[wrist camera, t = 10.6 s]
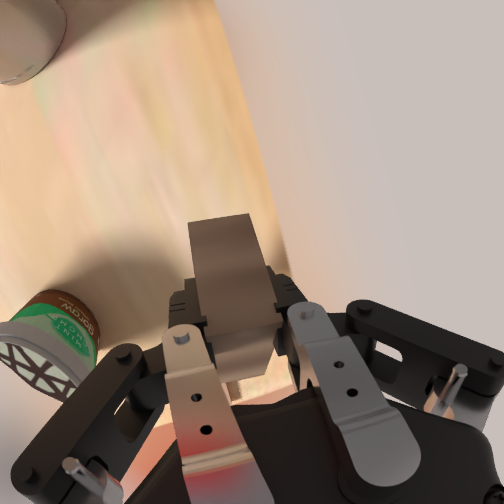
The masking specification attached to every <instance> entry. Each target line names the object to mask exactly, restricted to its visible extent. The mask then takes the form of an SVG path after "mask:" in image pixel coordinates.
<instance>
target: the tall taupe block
mask: <svg viewBox="0 0 504 504" xmlns="http://www.w3.org/2000/svg"><path fill="white" fill-rule="evenodd" d="M188 230H189V238H190V245H191V252H192V259H193V266H194V273H195V279H196V286H197V292H198V298H199V304H200V310H201V316H205V315H206V318H207V324H208V326H206V327H204V333H205V338H206V341H207V343H209V342H211V343H212V347H213V351H214V355H215V360H216V365H217V369H216V372H217V374H218V377H219V380H220V382H221V384H222V383H227V382H232V381H238V380H242V379H247V378H252V377H257V376H261V375H264V374H265V371H266V369H267V366H268V363H269V361H270V358H271V355H272V352H273V350H274V346H273V344H272V343H273V340H274V337H275V334H276V331H277V328H281V327H282V324H283V322H284V321H283V318H282V315H281V313H276V310H275V307H274V304H273V303H276V302H277V299H276V296H275V293H274V290H273V287H272V283H271V280H270V277H269V274H268V271H267V268H266V265H265V262H264V258H263V255H262V252H261V249H260V246H259V243H258V240H257V237H256V234H255V231H254V228H253V224H252V221H251V218H250V215H249V213H248V214H241V215H234V216H227V217H221V218H214V219H208V220H201V221H195V222H189V223H188Z"/></svg>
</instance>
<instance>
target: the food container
mask: <svg viewBox="0 0 504 504" xmlns="http://www.w3.org/2000/svg"><path fill="white" fill-rule="evenodd" d="M99 341H100V332H99V327H98V323H97V321H96V319H95V318H94V316H93V314H92V312H91V311H90V310H89V309H88V308H87V307H86V306H85V304H84V303H82V302H81V301H80V300H79V299H77V298H76V297H74V296H73V295H71V294H68V293H66V292H63V291H59V290H46V291H42V292H40V293H38V294H37V295H35V296H34V297H33V298H32V299H31V300H30V301H29V302H28V303H27V304H26V305H25V306H24V307H23V308H22V309H21V310H20V311H19V312H17V313H16V314H15V315H14V316H13V317H12V318H11V319H10V320H9V321H7V322H1V323H0V360H1V361H2V362H3V363H4V364H6V365H7V366H8V367H9V368H11V369H12V370H13V371H14V372H15V373H16V374H17V375H18V376H20V377H21V378H22V379H23V380H24V381H25V382H26V383H28V384H29V385H30V386H31V387H33V388H34V389H36V390H38V391H40V392H42V393H44V394H46V395H48V396H51V397H53V398H55V399H57V400H59V401H61V402H63V403H64V402H65V401H66V400H67V399H68V397H69V396H70V395H71V394H72V393H73V392H74V390H75V389H76V388H77V387H78V386H79V385H80V384H81V382H82V381H83V380H84V379H85V378H86V377H87V376H88V375H89V373H90V372H91V371H92V370H93V369H94V368H95V367H96V362H97V355H98V348H99Z"/></svg>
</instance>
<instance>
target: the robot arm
mask: <svg viewBox="0 0 504 504" xmlns="http://www.w3.org/2000/svg"><path fill="white" fill-rule="evenodd" d="M65 29H66V17H65V13H64V11H63V9H62V8H61V7H60V6H59V5H58V4H57V3H56V0H0V84H6V85H16V84H19V83H22V82H25V81H26V80H28V79H30V78H32V77H33V76H34V75H35V74H37V73H38V72H39V71H40V70H41V69H42V68H43V67H44V66H45V65H46V64H47V63H48V62H49V61H50V59H51V58H52V57H53V55H54V54H55V52H56V51H57V49H58V47H59V45H60V43H61V41H62V39H63V36H64V32H65ZM266 268H267V271H268V274H269V277H270V280H271V283H272V287H273V290H274V293H275V296H276V299H277V302H276V303H273V304H274V307H275V310H276V313H281V315H282V318H283V321H284V322H283V324H282V327H281V328H277V331H276V334H275V337H274V340H273V343H272V344H273V346H274V348H275V350H276V352H277V354H278V356H283V355H287V357H288V369H289V372H290V375H291V379H292V382H293V386H294V389H295V393H294V394H292V395H290V396H288V397H286V398H284V399H282V400H280V401H278V402H276V403H273V404H261V405H233V406H230V405H229V402H228V400H227V397H226V395H225V392H224V390H223V387H222V385H221V382H220V380H219V377H218V374H217V372H216V369H217V365H216V360H215V355H214V351H213V347H212V343H211V342H209V343H207V341H206V338H205V333H204V327H206V326H208V324H207V318H206V315H205V316H201V310H200V304H199V298H198V292H197V286H196V279H195V278H190V279H185V290H183V291H177V292H174V294H173V295H172V296H171V298H170V304H169V306H170V307H169V326H168V330H167V331H166V332H165V333H164V334H163V336H162V343H161V344H159V345H158V346H156V347H154V348H151V349H148V350H146V351H142V349H141V348H140V347H139V346H138V345H136V344H131V343H127V344H121V345H118V346H116V347H114V348H113V349H111V350H110V351H109V352H108V353H107V354H106V356H105V357H104V358H103V359H102V360H101V361H100V362H99V363H98V364H97V366H96V367H95V368H94V369H93V370H92V371H91V372H90V373H89V375H88V376H87V377H86V378H85V379H84V380H83V381H82V382H81V384H80V385H79V386H78V387H77V388H76V389H75V390H74V392H73V393H72V394H71V395H70V396H69V397H68V399H67V400H66V401H65V402H64V403H63V404H62V406H61V407H60V408H59V409H58V410H57V412H56V413H55V414H54V415H53V416H52V417H51V418H50V420H49V421H48V422H47V423H46V424H45V426H44V427H43V428H42V429H41V430H40V432H39V433H38V434H37V435H36V437H35V438H34V439H33V440H32V441H31V443H30V444H29V445H28V446H27V448H26V449H25V450H24V451H23V453H22V454H21V455H20V456H19V458H18V459H17V460H16V461H15V463H14V464H13V466H12V469H11V481H12V484H13V486H14V487H15V489H16V490H17V491H18V492H20V493H21V494H22V495H24V496H25V497H27V498H28V499H29V500H31V501H32V502H33V503H34V504H122V502H123V501H122V499H123V488H122V486H121V484H120V481H121V480H122V478H123V476H124V475H125V473H126V472H127V470H128V468H129V467H130V465H131V463H132V462H133V460H134V458H135V457H136V455H137V453H138V452H139V450H140V448H141V447H142V445H143V443H144V442H145V440H146V438H147V437H148V435H149V433H150V432H151V430H152V428H153V427H154V425H155V423H156V422H157V420H158V418H159V417H160V415H161V414H162V412H163V410H164V407H165V404H168V403H169V404H170V410H171V415H172V420H173V424H174V429H175V434H176V438H177V439H176V440H175V441H174V442H173V443H172V445H171V446H170V447H169V449H168V450H167V451H166V453H165V454H164V455H163V456H162V458H161V459H160V460H159V461H158V463H157V464H156V465H155V466H154V468H153V469H152V470H151V471H150V473H149V474H148V475H147V476H146V478H145V479H144V480H143V481H142V483H141V484H140V485H139V486H138V487H137V489H136V490H135V491H134V492H133V493H132V495H131V496H130V497H129V498H128V499H127V501H126V502H125V503H124V504H504V487H503V485H502V484H501V482H500V480H499V477H498V475H497V472H496V468H495V464H494V458H493V452H492V448H491V445H490V443H489V441H488V439H487V438H486V436H485V435H484V434H483V433H482V431H483V428H484V426H485V423H486V420H487V418H488V415H489V412H490V409H491V406H492V403H493V401H494V399H495V398H496V397H497V395H498V393H499V392H500V390H501V388H502V387H503V385H504V353H503V352H502V351H499V350H497V349H494V348H491V347H489V346H486V345H484V344H481V343H478V342H476V341H473V340H471V339H468V338H466V337H463V336H460V335H458V334H455V333H453V332H450V331H447V330H445V329H442V328H440V327H438V326H435V325H432V324H430V323H427V322H425V321H422V320H419V319H417V318H414V317H412V316H409V315H407V314H404V313H402V312H399V311H396V310H394V309H391V308H389V307H386V306H383V305H381V304H379V303H376V302H373V301H370V300H356V301H353V302H351V303H349V304H348V305H347V308H346V313H326V311H325V310H324V308H323V307H322V306H321V305H319V304H316V303H313V302H308V300H307V299H306V298H305V296H304V295H303V294H302V292H301V291H300V290H299V289H298V287H297V286H296V285H295V284H294V282H293V281H292V279H291V278H290V277H288V276H286V275H284V274H277V275H275V273H274V272H273V270H272V269H271V267H270V266H269V265H268V266H266ZM377 341H379V342H381V343H383V344H386V345H388V346H390V347H392V348H394V349H396V350H398V351H399V352H400V353H401V355H402V358H403V360H402V362H400V361H398V360H396V359H394V358H391V357H389V356H387V355H385V354H383V353H381V352H379V351H376V350H375V348H376V343H377ZM381 391H383V392H385V393H387V394H389V395H391V396H393V397H395V398H396V399H399V400H401V401H402V402H405V403H406V404H409V405H411V406H413V407H415V408H417V409H415V408H413V407H409V406H407V405H404V404H401V403H398V402H395V401H392V400H389V399H386V398H385V397H384V395H383V393H382V392H381ZM124 399H126V400H125V401H124V403H123V404H122V405H121V407H120V408H119V410H118V411H117V412H116V414H115V415H114V413H115V411H116V409H117V408H118V407H119V405H120V404H121V403H122V401H123V400H124Z"/></svg>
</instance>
